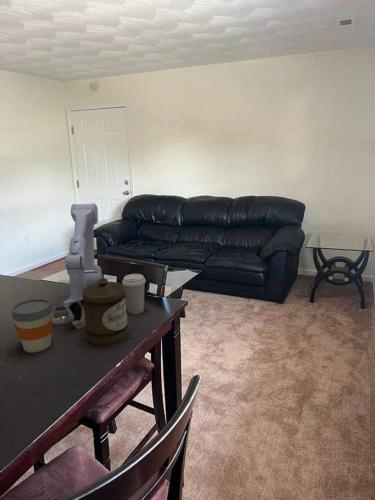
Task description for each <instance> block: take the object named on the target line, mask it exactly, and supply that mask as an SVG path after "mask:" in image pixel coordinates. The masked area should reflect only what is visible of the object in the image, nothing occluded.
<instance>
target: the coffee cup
mask: <svg viewBox="0 0 375 500" xmlns="http://www.w3.org/2000/svg"><path fill="white" fill-rule="evenodd" d="M146 282H147V280H146V278H145V277H144V275H143V274H140V273H131V274H126V275H125V276H124V277H123V279H122V281H121V284H123V285H124V289H125V302H126V308H127V312H128V313H129V315H130V314H131V315H139V314H142V313H143V312H144V311H145V286H146V285H145V284H146Z"/></svg>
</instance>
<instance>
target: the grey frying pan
mask: <svg viewBox="0 0 375 500" xmlns="http://www.w3.org/2000/svg"><path fill="white" fill-rule="evenodd" d="M51 316H52V326H65V325H69V324H70V323H71V324H72V322H75V321H76V320H75V318H74V316H73V314H72V312H71V310H70V309H69V315H67V316H63V319H60V317H54V318H53V311H52V312H51Z"/></svg>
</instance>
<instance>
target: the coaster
mask: <svg viewBox="0 0 375 500" xmlns="http://www.w3.org/2000/svg"><path fill="white" fill-rule="evenodd" d="M71 324H72V325H73V326H74V327H75V328H76V329H77V330H80V329H84V328H86V327H85V325H83V324H77V320H74V321H72V322H71Z"/></svg>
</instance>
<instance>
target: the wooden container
mask: <svg viewBox="0 0 375 500" xmlns="http://www.w3.org/2000/svg"><path fill="white" fill-rule="evenodd" d="M83 302H84V314H85V327H84V328H85V332H86V339H87V341H88V342H89V343H91V344H94V345H100V346H102V345H105V346H106V345H112V344H115V343H119V342H120V341H122V340H125V338H126V337H127V336H128V333H129V329H128V327H129V326H128V313H127V312H128V311H127V302H126V296H125V289H124V285H123V284H122V282H117V281H109V280H108V279H107V278H105V277H102V278H100V279H99V280H98V283H94V284H91V285H89V286H87V287H85V288H84V289H83Z"/></svg>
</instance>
